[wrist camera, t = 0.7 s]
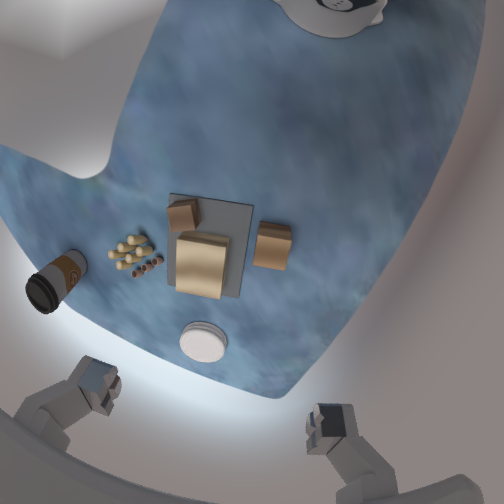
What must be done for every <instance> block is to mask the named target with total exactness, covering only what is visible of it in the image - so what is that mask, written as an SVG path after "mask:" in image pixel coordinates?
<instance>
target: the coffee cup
mask: <svg viewBox="0 0 504 504" xmlns="http://www.w3.org/2000/svg"><path fill="white" fill-rule="evenodd" d="M86 269H87V263H86V260H85V258H84V256H83V255H82V254H81V253H80V252H78V251H76V250H70V251H68V252H67V253H65V254H64V255H62V256H60V257H58V258H57V259H55V260H54V261H52V262H51V263H49V264H48V265H47V266H46V267H44V268H43V269H42V270H40V271H39V272H37V273H36V274H33V275H32V276H31V277H30V278H29V279H28V282H27V284H26V287H25V288H26V294H27V297H28V299H29V300H30V302H31V304H32V305H33V306H34V307H35V308H36V309H37V310H38V311H39V312H41V313H43V314H49V313H52V312H54V310H56V309H57V308H58V306H59V304H60V303H61V301H62V300H63V299H64V298H65V297H66V295H68V293H69V292H70V291H71V290H72V289H73V287H74V286H75V285H76V284H77V283H78V281H79V280H80V279H81V277H82V276H83V275H84V274H85V273H86Z"/></svg>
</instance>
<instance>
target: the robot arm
mask: <svg viewBox="0 0 504 504" xmlns="http://www.w3.org/2000/svg"><path fill="white" fill-rule="evenodd" d="M273 1H275V2H276V3H278V4H279V5H280V6H281V7H282V8H283V10H284V11H285V13H286V14H287V16H288V17H289V18H290V19H291V20H292V21H293V22H294V23H295V24H297V25H298V26H299V27H301V28H303V29H304V30H306V31H308V32H311V33H313V34H316V35H319V36H323V37H329V38H344V37H349V36H352V35H355V34H357V33H359V32H360V31H361V30H363V29H364V28H365V27H367V26H371V25H377V24H380V23H381V22H382V20H383V14H382V9H383V8H384V7H385V5H386V4H387V0H273ZM117 373H118V370H117V367H116V366H113V365H110V364H107V363H105V362H102V361H99V360H97V359H94V358H92V357H89V356H87V355H85V356H84V357H82V359H81V360H80V362H79V363H78V365H77V366H76V368H75V369H74V371H73V372H72V374H71V375H70V377H69V378H68V380H67V381H66V380H63V381H61V382H59V383H56V384H54V385H52V386H50V387H48V388H46V389H44V390H42V391H39V392H37V393H35V394H33V395H30V396H28V397H26V398H25V400H24V401H23V403H22V404H21V406H20V408H19V409H18V411H17V412H16V414H15V416H14V417H13V418H12V417H11V416H10V415H8V414H7V413H6V412H4V411H3V410H2V409H1V408H0V504H217V503H211V502H205V501H200V500H195V499H190V498H186V497H181V496H177V495H173V494H169V493H165V492H162V491H158V490H155V489H151V488H148V487H145V486H142V485H139V484H136V483H133V482H130V481H127V480H125V479H122V478H119V477H117V476H115V475H112V474H110V473H107V472H105V471H103V470H100V469H98V468H96V467H94V466H91V465H89V464H87V463H85V462H83V461H81V460H79V459H77V458H75V457H73V456H72V455H70V454H68V453H66V450H67V447H68V445H69V443H70V438H69V437H68V436H67V435H66V433H65V432H64V431H63V430H65V429H66V428H68V427H69V426H71V425H72V424H74V423H75V422H77V421H78V420H80V419H81V418H83V417H84V416H86V415H87V414H89V413H90V412H91V411H92V410H93V411H96V412H98V413H101V414H103V415H106V416H109V415H110V413H111V410H112V408H113V406H114V403H113V400H114V399H116V398H117V397H118V396H119V394H120V391H121V379H120V377H119V376H118V375H117ZM306 433H307V434H308V436H309V439H308V440H307V441H306V442H307V454H309V455H326V456H327V458H328V459H329V461H330V462H331V463H332V465H333V466H334V468H335V469H336V470H337V472H338V473H339V475H340V476H341V477H342V479H343V480H344V482H345V483H346V484H347V486H345V487H343V488H342V489H340V490H338V491H337V492H336V504H484V499H483V494H482V491H481V489H480V487H479V486H478V485H477V484H476V483H475V482H473V481H472V480H471V479H470V478H468V477H467V476H465V475H463V474H458V475H455V476H452V477H450V478H447V479H445V480H442V481H440V482H437V483H434V484H431V485H428V486H425V487H422V488H419V489H416V490H413V491H409V492H406V493H402V494H399V493H398V488H397V481H396V476H395V471H394V469H393V468H392V467H391V466H390V465H389V463H388V462H387V461H386V460H385V459H384V458H383V457H382V456H381V455H380V454H379V453H378V452H377V451H376V450H375V449H374V448H373V447H372V446H371V445H370V444H369V443H368V442H367V441H366V440H365V439H364V438H363V437H362V436H359V434H358V428H357V423H356V418H355V413H354V408H353V405H352V404H322V403H320V404H319V403H317V404H315V406H314V407H313V412H311V413H310V414H309V416H308V417H307V422H306Z"/></svg>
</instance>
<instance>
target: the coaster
mask: <svg viewBox="0 0 504 504" xmlns="http://www.w3.org/2000/svg"><path fill="white" fill-rule="evenodd" d="M226 344H227V340H226V336H225V334H224V333H223V331H222V330H221V329H219V328H218V327H217V326H215V325H213V324H210V323H207V322H193V323H190V324H188V325H187V326H186V327H185V328H184V330H183V333H182V335H181V337H180V347H181V349H182V350H183V352H184V353H185V354H186V355H187V356H189V357H190V358H192V359H194V360H196V361H200V362H215V361H217V360H219V359H221V358H222V357H223V355H224V353H225V349H226Z"/></svg>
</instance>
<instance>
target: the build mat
mask: <svg viewBox="0 0 504 504" xmlns="http://www.w3.org/2000/svg"><path fill="white" fill-rule="evenodd" d="M195 198H198V204H199V209H200V215H201V223H200V224H199V226H198V227H197V228H196V230H190V231H193V232H200V233H206V234H212V235H218V236H224V237H229V238H230V240H229V248H228V256H227V264H226V272H225V280H224V288H223V291H222V294H221V295H223V296H228V297H234V298H239V291H240V285H241V279H242V272H243V266H244V260H245V254H246V247H247V241H248V235H249V229H250V222H251V216H252V210H253V205H247V204H241V203H235V202H229V201H222V200H216V199H209V198H202V197H195V196H188V195H181V194H173V193H170V194H169V206H170V205H171V204H172V203H173V202H174V201H179V200H187V199H195ZM182 232H183V231H179V232H171V227H170V223H169V218H168V251H167V279H168V285H171V286H176V248H177V238H178V237H179V236H180V235H181V233H182Z"/></svg>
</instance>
